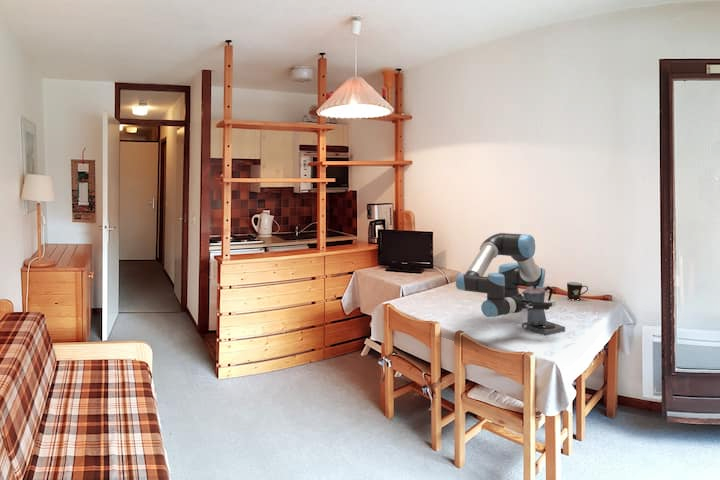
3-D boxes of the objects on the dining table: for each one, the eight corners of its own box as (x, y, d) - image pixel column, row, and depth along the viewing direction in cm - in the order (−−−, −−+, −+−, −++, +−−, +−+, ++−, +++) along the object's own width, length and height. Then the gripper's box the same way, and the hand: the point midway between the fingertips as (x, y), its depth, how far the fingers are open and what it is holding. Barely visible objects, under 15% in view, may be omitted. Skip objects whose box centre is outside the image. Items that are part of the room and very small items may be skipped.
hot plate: (541, 323, 238) (542, 318, 238) (565, 330, 226) (565, 326, 226) (520, 327, 231) (520, 322, 231) (543, 335, 219) (543, 330, 219)
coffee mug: (565, 300, 285) (565, 284, 283) (567, 297, 292) (568, 281, 291) (585, 302, 279) (586, 286, 277) (587, 299, 286) (588, 283, 285)
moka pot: (517, 319, 234) (517, 283, 228) (546, 314, 236) (546, 278, 230) (527, 328, 225) (527, 290, 219) (556, 322, 227) (557, 285, 221)
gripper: (491, 306, 227) (523, 301, 237) (531, 320, 205) (564, 313, 215) (492, 291, 226) (523, 287, 236) (532, 303, 204) (565, 298, 214)
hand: (543, 299), depth 226 cm, fingers open, 13 cm apart
